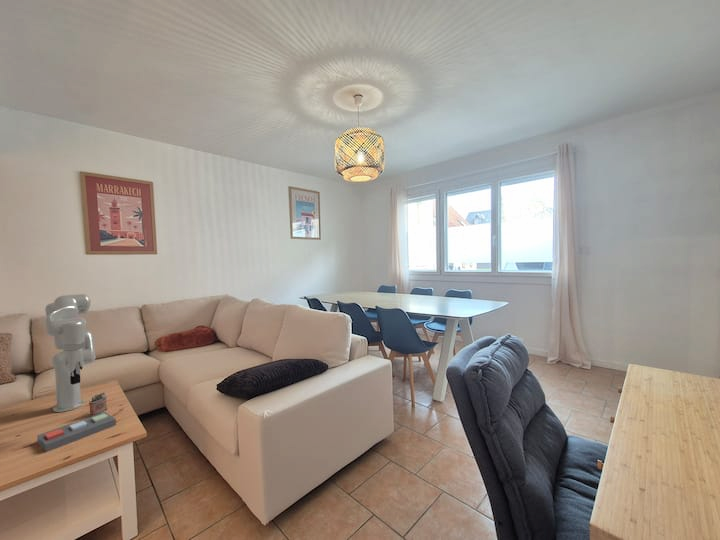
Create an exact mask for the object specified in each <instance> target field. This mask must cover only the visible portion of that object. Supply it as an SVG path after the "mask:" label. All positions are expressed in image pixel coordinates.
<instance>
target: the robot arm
mask: <svg viewBox="0 0 720 540" xmlns="http://www.w3.org/2000/svg"><path fill="white" fill-rule="evenodd" d="M91 304H92V302H91V298H90V296H88V295H87V294H81V293H80V294H67V295H61V296H58V297H56V298H55V299H54V301H53V302H51V303H48V304H47V305H46V306H45V315H46V318H45V321H44V322H45V323H44V324H45V330H46V332H47V335H49V336H52V337H53V339H54V340H53V341H54V346H55V348H56V349H57V350H62V351H60V352H57V353H56V354H54V355H53V356H52V359H51V360H52V362H51V363H52V366H53V370H54V375H55V393H56V394H55V395H56V397H55V398H56V405H55V406H54V407H53V408H52V412H53V413H62V412H64V413H65V412H67V411H71V410H75V409H77V408H80V407H82V406H83V405H84V404H85V400H84V399H81V370H83V369H84V366H85V365H89V364H92V363H94V362H95V361H96V357H97V356H96V348H95V340H94V335H93V333H92V331H91V330H90V329H86V328H88V327H87V325H88V322H87V320H86V319H85V318H84V317H77V316H78V315H84V314H87V313H88V311H89V309H90V307H91Z"/></svg>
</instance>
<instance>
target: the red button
mask: <svg viewBox="0 0 720 540" xmlns="http://www.w3.org/2000/svg"><path fill="white" fill-rule="evenodd" d="M61 435H64V432H63V431H62V430H61V429H58V430H55V431H52V432H50V433H47V434H45V439H46V440H50V439H53V438H56V437H58V436H61Z"/></svg>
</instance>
